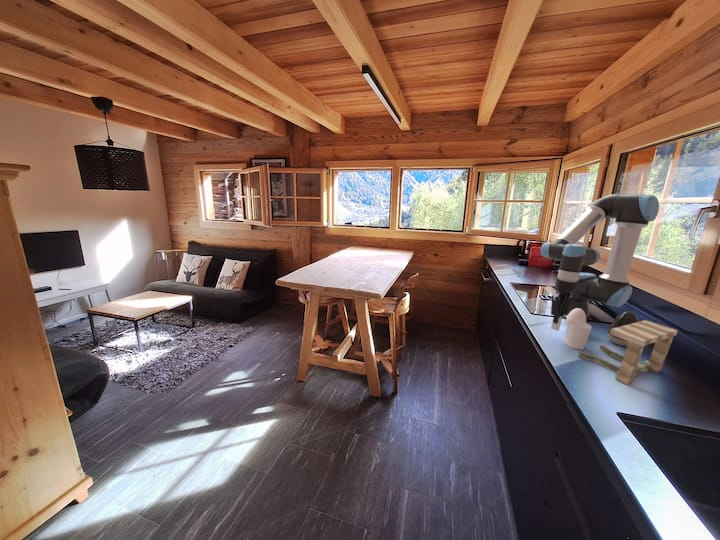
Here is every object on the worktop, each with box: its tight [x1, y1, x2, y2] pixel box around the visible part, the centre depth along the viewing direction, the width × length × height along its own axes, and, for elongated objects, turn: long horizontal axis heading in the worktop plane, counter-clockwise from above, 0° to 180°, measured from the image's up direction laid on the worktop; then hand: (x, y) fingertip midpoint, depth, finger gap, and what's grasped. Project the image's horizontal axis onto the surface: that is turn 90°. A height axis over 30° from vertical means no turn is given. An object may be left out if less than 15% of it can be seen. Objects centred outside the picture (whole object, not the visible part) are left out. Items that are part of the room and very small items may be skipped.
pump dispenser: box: [607, 310, 640, 347], centre depth 124 cm, size 10×10×15 cm
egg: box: [565, 308, 587, 328], centre depth 135 cm, size 7×7×12 cm
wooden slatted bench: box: [578, 319, 679, 386], centre depth 107 cm, size 24×18×17 cm
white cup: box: [564, 321, 593, 351], centre depth 121 cm, size 8×8×10 cm
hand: (554, 329), depth 129 cm, fingers closed
